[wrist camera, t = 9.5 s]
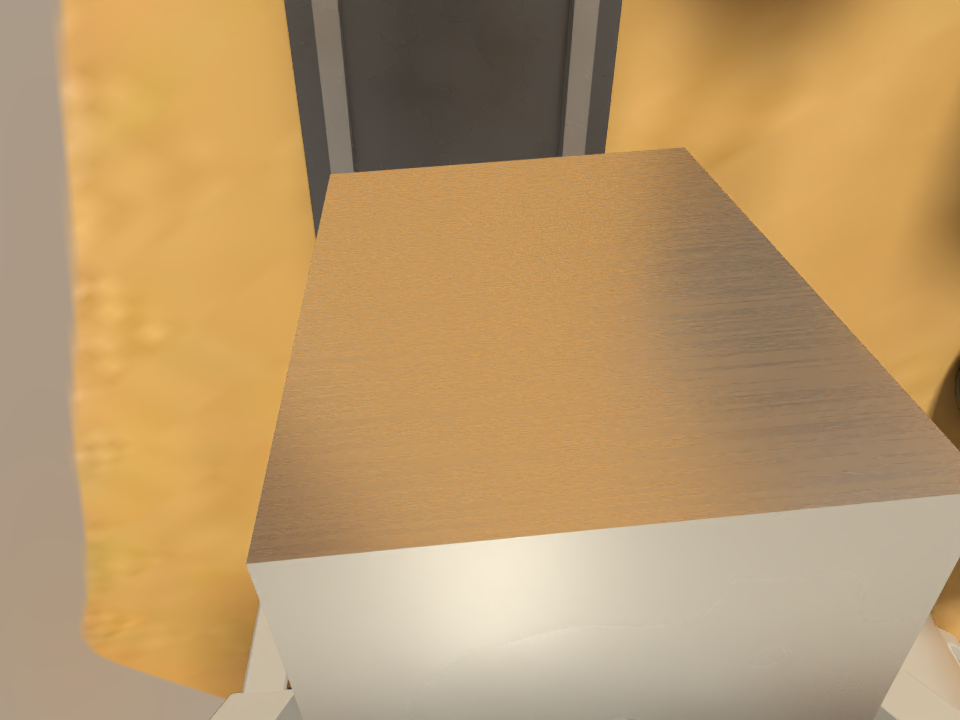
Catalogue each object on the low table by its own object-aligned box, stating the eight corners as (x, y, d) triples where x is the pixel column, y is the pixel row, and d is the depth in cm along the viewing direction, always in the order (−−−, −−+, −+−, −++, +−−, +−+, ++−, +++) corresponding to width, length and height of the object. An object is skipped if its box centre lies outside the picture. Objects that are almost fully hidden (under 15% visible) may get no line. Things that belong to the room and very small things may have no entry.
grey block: (684, 147, 9) (995, 490, 4) (618, 679, 17) (708, 1029, 12) (330, 174, 9) (246, 563, 4) (421, 700, 16) (430, 1064, 11)
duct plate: (575, 357, 34) (583, 381, 32) (336, 367, 33) (333, 391, 31) (629, -138, 23) (645, -136, 21) (270, -141, 22) (261, -140, 20)
